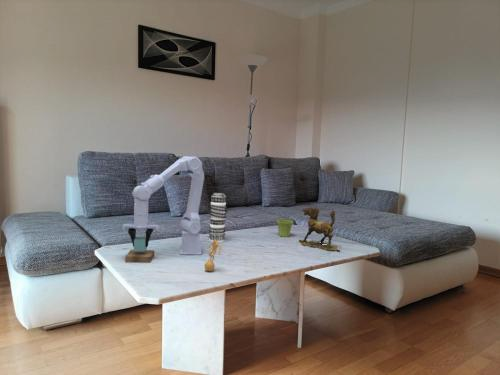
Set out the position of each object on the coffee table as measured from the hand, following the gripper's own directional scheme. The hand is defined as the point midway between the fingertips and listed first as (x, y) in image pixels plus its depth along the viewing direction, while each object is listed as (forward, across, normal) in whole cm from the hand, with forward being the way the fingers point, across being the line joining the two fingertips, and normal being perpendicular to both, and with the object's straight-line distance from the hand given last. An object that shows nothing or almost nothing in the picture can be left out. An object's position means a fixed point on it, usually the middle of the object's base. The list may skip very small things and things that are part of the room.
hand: (140, 246), depth 152 cm
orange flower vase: (+6, +30, -14) cm, 34 cm away
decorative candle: (+6, +33, +35) cm, 48 cm away
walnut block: (+6, 0, 0) cm, 6 cm away
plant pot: (+6, +72, +48) cm, 87 cm away
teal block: (+2, 0, 0) cm, 2 cm away
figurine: (+6, +86, +26) cm, 90 cm away
